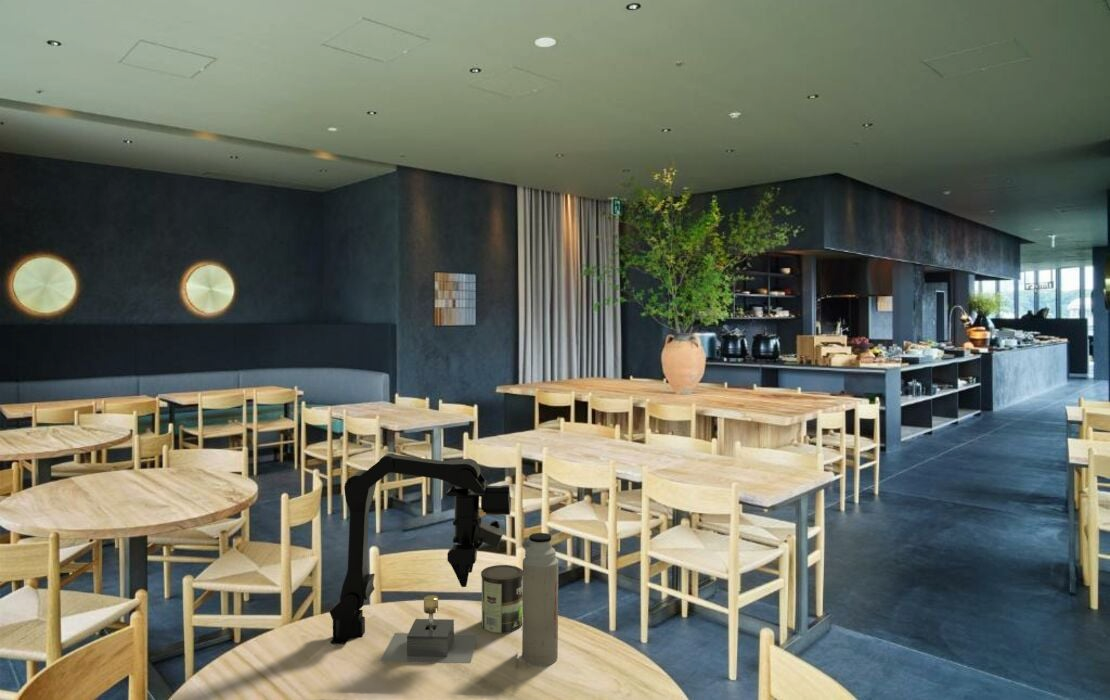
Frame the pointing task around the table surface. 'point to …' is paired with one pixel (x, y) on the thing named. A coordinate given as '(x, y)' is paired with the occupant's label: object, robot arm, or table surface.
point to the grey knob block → (430, 638)
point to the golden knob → (431, 608)
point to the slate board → (457, 654)
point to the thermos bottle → (540, 602)
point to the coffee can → (502, 598)
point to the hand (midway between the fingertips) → (466, 579)
